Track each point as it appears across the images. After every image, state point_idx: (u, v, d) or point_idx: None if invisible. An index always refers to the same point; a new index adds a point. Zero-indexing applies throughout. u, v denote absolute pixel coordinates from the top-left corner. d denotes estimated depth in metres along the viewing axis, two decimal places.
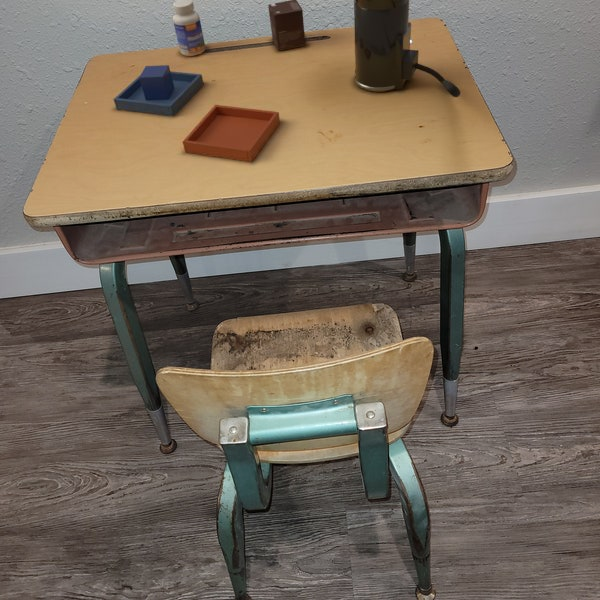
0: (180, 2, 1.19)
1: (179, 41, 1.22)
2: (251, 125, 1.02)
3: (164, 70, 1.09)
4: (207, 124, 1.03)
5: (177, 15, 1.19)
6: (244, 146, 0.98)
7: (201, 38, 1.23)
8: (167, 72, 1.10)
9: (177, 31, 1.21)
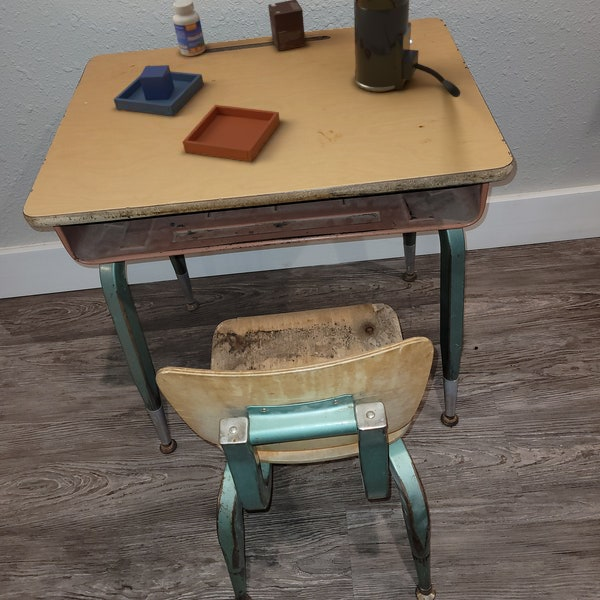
0: (180, 2, 1.19)
1: (179, 41, 1.22)
2: (251, 125, 1.02)
3: (164, 70, 1.09)
4: (207, 124, 1.03)
5: (177, 15, 1.19)
6: (244, 146, 0.98)
7: (201, 38, 1.23)
8: (167, 72, 1.10)
9: (177, 31, 1.21)
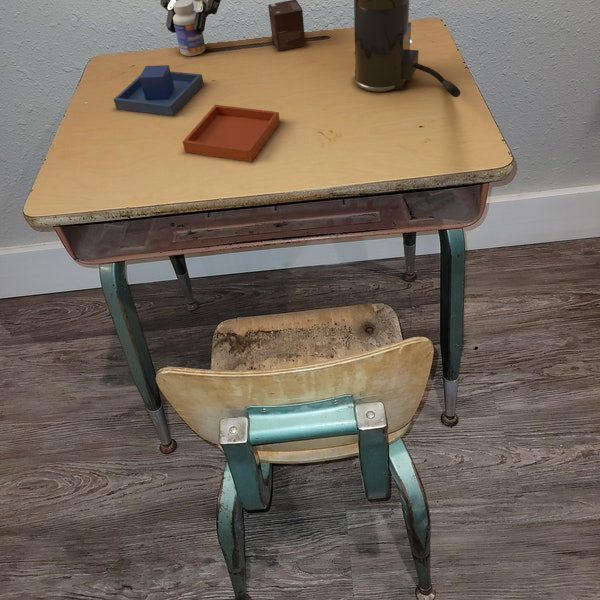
0: (180, 2, 1.19)
1: (179, 41, 1.22)
2: (251, 125, 1.02)
3: (164, 70, 1.09)
4: (207, 124, 1.03)
5: (177, 15, 1.19)
6: (244, 146, 0.98)
7: (201, 38, 1.23)
8: (167, 72, 1.10)
9: (177, 31, 1.21)
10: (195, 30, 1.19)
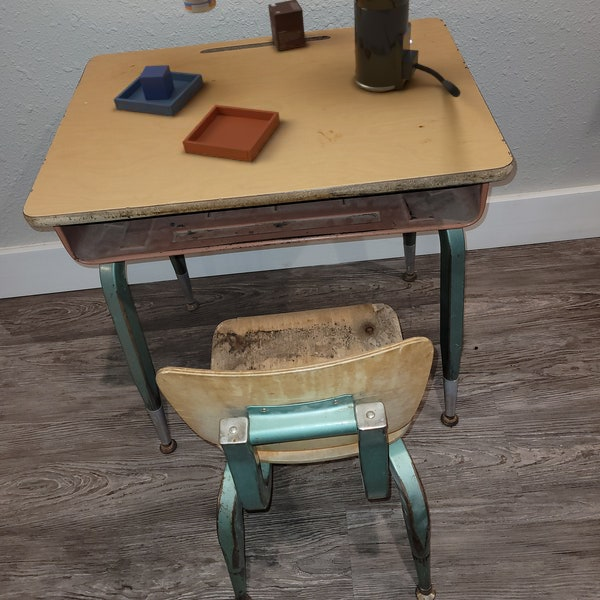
0: None
1: None
2: (251, 125, 1.02)
3: (164, 70, 1.09)
4: (207, 124, 1.03)
5: None
6: (244, 146, 0.98)
7: None
8: (167, 72, 1.10)
9: None
10: None
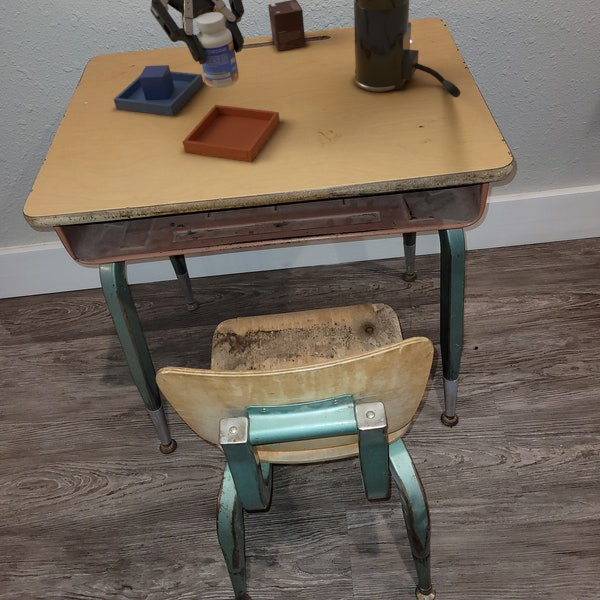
0: (206, 18, 0.87)
1: (217, 70, 0.90)
2: (251, 125, 1.02)
3: (164, 70, 1.09)
4: (207, 124, 1.03)
5: (212, 35, 0.87)
6: (244, 146, 0.98)
7: None
8: (167, 72, 1.10)
9: (216, 57, 0.88)
10: (241, 45, 0.89)
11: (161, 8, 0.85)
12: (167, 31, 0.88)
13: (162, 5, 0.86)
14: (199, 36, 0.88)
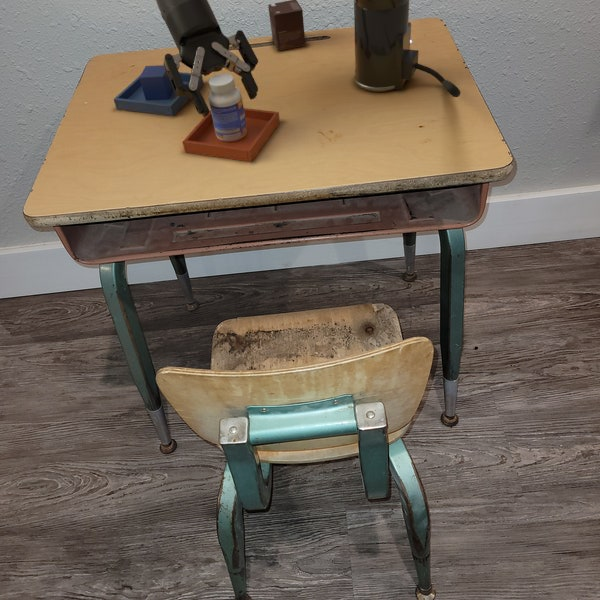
0: (217, 80, 0.93)
1: (228, 126, 0.97)
2: (251, 125, 1.02)
3: (164, 70, 1.09)
4: (207, 124, 1.03)
5: (222, 96, 0.94)
6: (244, 146, 0.98)
7: None
8: None
9: (226, 115, 0.95)
10: (255, 93, 0.96)
11: (172, 64, 0.92)
12: (173, 85, 0.94)
13: (173, 62, 0.92)
14: (211, 96, 0.95)
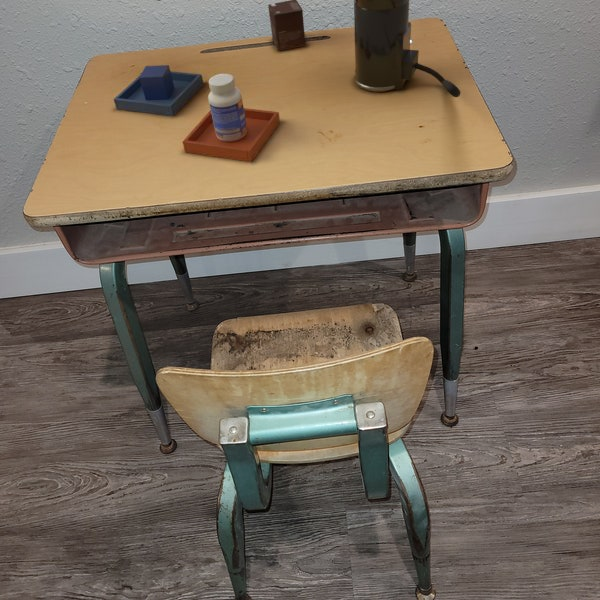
0: (217, 79, 0.93)
1: (228, 126, 0.97)
2: (251, 125, 1.02)
3: (164, 70, 1.09)
4: (207, 124, 1.03)
5: (222, 96, 0.94)
6: (244, 146, 0.98)
7: None
8: (167, 72, 1.10)
9: (226, 115, 0.95)
10: None
11: None
12: None
13: None
14: (211, 96, 0.95)
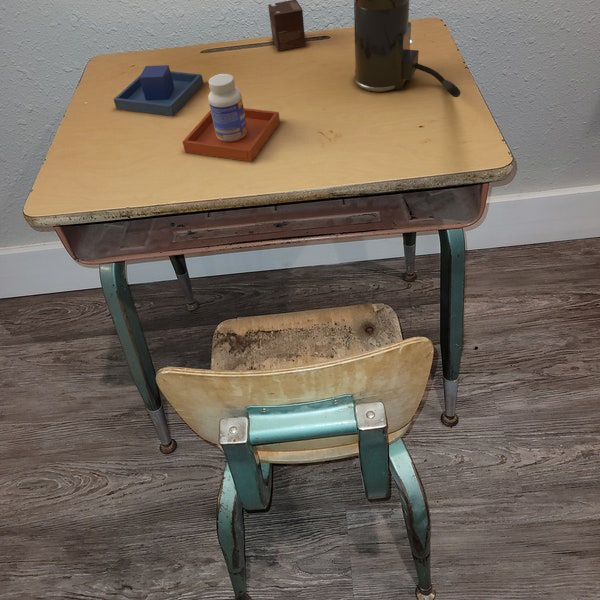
0: (217, 79, 0.93)
1: (228, 126, 0.97)
2: (251, 125, 1.02)
3: (164, 70, 1.09)
4: (207, 124, 1.03)
5: (222, 96, 0.94)
6: (244, 146, 0.98)
7: None
8: (167, 72, 1.10)
9: (226, 115, 0.95)
10: None
11: None
12: None
13: None
14: (211, 96, 0.95)
